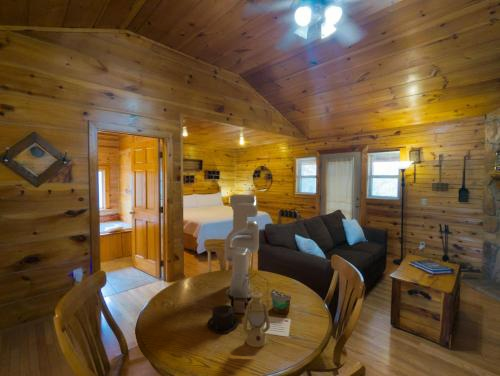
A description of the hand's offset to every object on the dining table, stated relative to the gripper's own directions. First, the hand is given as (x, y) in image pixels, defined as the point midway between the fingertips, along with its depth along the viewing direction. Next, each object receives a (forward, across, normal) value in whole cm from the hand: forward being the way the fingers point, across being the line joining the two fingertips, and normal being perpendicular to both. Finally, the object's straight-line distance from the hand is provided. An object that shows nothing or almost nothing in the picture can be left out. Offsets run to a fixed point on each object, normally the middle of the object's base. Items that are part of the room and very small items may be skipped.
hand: (239, 307), depth 131 cm
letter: (+2, -21, +8) cm, 23 cm away
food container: (+2, -20, -5) cm, 21 cm away
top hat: (+3, +5, +12) cm, 13 cm away
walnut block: (+1, 0, 0) cm, 1 cm away
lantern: (+2, -14, +21) cm, 25 cm away
